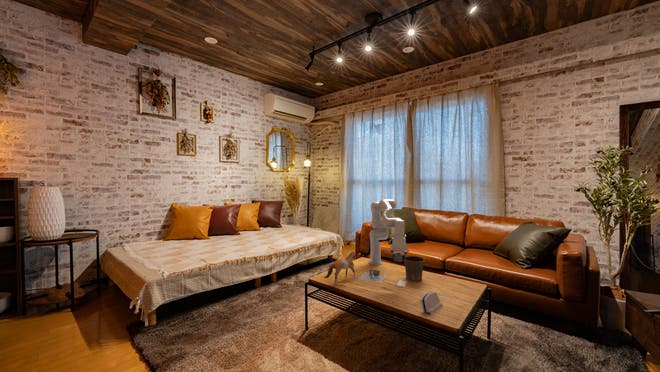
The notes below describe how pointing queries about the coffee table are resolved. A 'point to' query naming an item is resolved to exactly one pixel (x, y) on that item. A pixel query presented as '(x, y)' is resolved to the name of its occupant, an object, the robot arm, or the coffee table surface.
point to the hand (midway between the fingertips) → (398, 259)
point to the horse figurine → (342, 266)
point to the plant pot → (414, 267)
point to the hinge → (430, 303)
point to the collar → (398, 257)
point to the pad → (401, 283)
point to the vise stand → (372, 276)
